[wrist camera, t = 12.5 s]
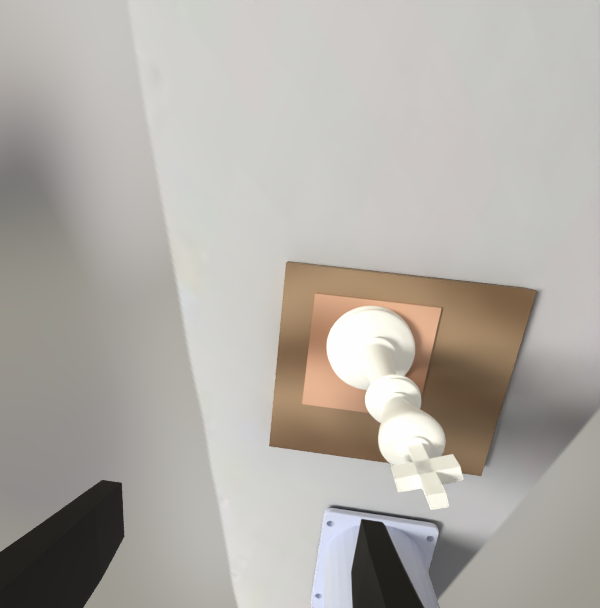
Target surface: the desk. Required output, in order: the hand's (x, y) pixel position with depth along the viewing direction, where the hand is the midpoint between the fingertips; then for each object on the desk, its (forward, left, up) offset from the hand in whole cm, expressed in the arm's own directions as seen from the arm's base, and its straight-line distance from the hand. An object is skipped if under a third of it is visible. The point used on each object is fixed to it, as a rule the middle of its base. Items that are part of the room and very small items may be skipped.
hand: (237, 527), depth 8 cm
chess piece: (+3, -5, -9) cm, 11 cm away
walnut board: (+1, -7, -10) cm, 12 cm away
